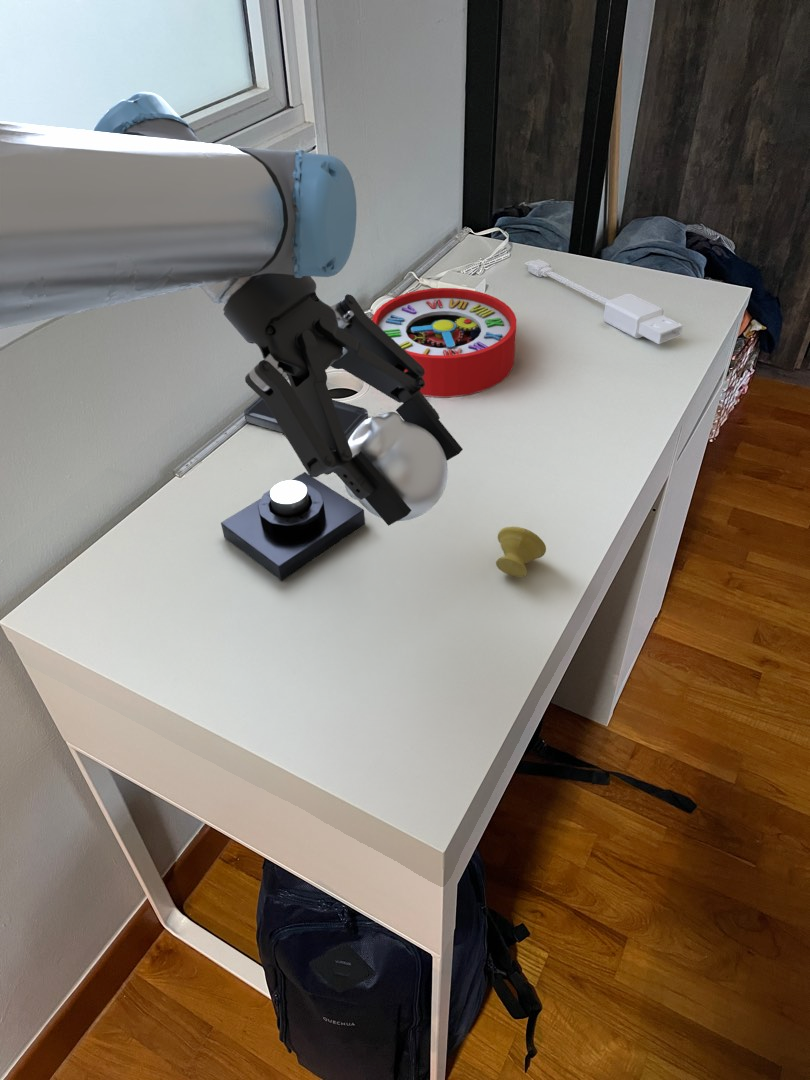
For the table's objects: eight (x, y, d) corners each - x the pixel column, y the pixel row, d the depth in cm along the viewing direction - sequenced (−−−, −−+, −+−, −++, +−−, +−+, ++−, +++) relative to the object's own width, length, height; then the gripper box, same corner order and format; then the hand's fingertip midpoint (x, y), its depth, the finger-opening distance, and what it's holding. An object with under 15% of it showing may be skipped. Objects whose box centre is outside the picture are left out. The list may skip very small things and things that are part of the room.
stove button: (288, 524, 86) (286, 509, 85) (264, 507, 88) (261, 492, 87) (317, 505, 88) (315, 490, 87) (293, 489, 90) (291, 475, 89)
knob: (501, 546, 88) (503, 510, 84) (547, 559, 86) (551, 524, 82) (484, 574, 84) (486, 539, 81) (532, 589, 83) (536, 553, 79)
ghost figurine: (379, 466, 80) (373, 379, 74) (464, 497, 77) (466, 407, 70) (326, 520, 75) (314, 430, 68) (415, 555, 71) (412, 464, 64)
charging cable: (539, 268, 139) (540, 249, 136) (681, 340, 117) (685, 318, 115) (515, 276, 137) (516, 256, 135) (655, 350, 115) (659, 328, 113)
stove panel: (281, 581, 85) (276, 553, 82) (223, 537, 90) (217, 510, 87) (365, 524, 91) (363, 496, 88) (306, 486, 96) (302, 459, 93)
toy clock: (497, 281, 121) (533, 349, 106) (496, 318, 125) (530, 388, 110) (363, 295, 119) (380, 365, 104) (365, 331, 123) (383, 404, 108)
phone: (340, 442, 100) (240, 413, 106) (340, 450, 101) (241, 420, 106) (371, 409, 105) (274, 383, 111) (372, 417, 106) (275, 390, 111)
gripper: (305, 254, 77) (455, 438, 82) (146, 361, 63) (337, 574, 68) (348, 206, 71) (506, 407, 76) (184, 312, 58) (389, 548, 62)
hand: (426, 486), depth 72 cm, fingers closed on ghost figurine, 9 cm apart
